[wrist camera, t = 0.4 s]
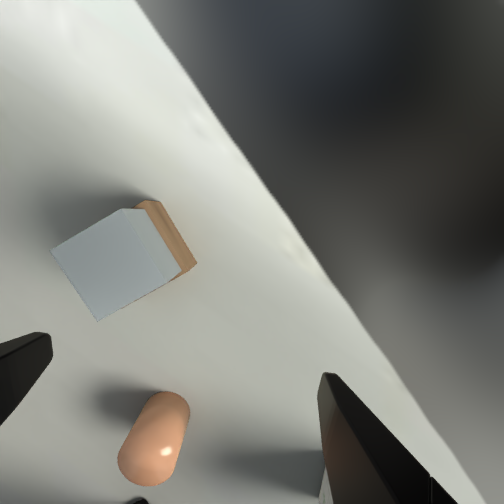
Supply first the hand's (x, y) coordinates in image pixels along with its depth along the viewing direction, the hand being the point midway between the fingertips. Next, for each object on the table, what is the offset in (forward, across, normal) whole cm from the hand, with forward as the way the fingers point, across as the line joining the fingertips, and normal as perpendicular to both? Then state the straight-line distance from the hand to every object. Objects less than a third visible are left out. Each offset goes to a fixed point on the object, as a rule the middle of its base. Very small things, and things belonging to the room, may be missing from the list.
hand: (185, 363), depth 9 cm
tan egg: (+12, +4, +17) cm, 21 cm away
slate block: (+11, +7, +1) cm, 13 cm away
